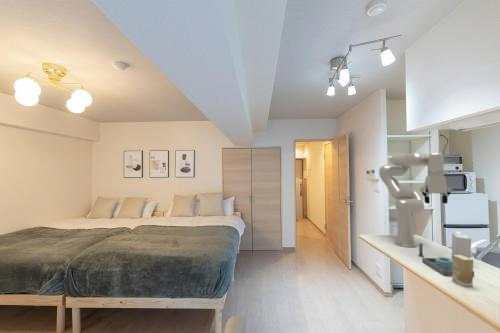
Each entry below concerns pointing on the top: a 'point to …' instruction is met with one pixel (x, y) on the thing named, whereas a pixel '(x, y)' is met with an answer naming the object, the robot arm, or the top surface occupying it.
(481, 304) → the top surface
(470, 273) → the skincare box
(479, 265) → the top surface
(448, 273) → the tray
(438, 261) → the teal magnifying glass
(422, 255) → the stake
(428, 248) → the top surface
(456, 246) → the skincare box
